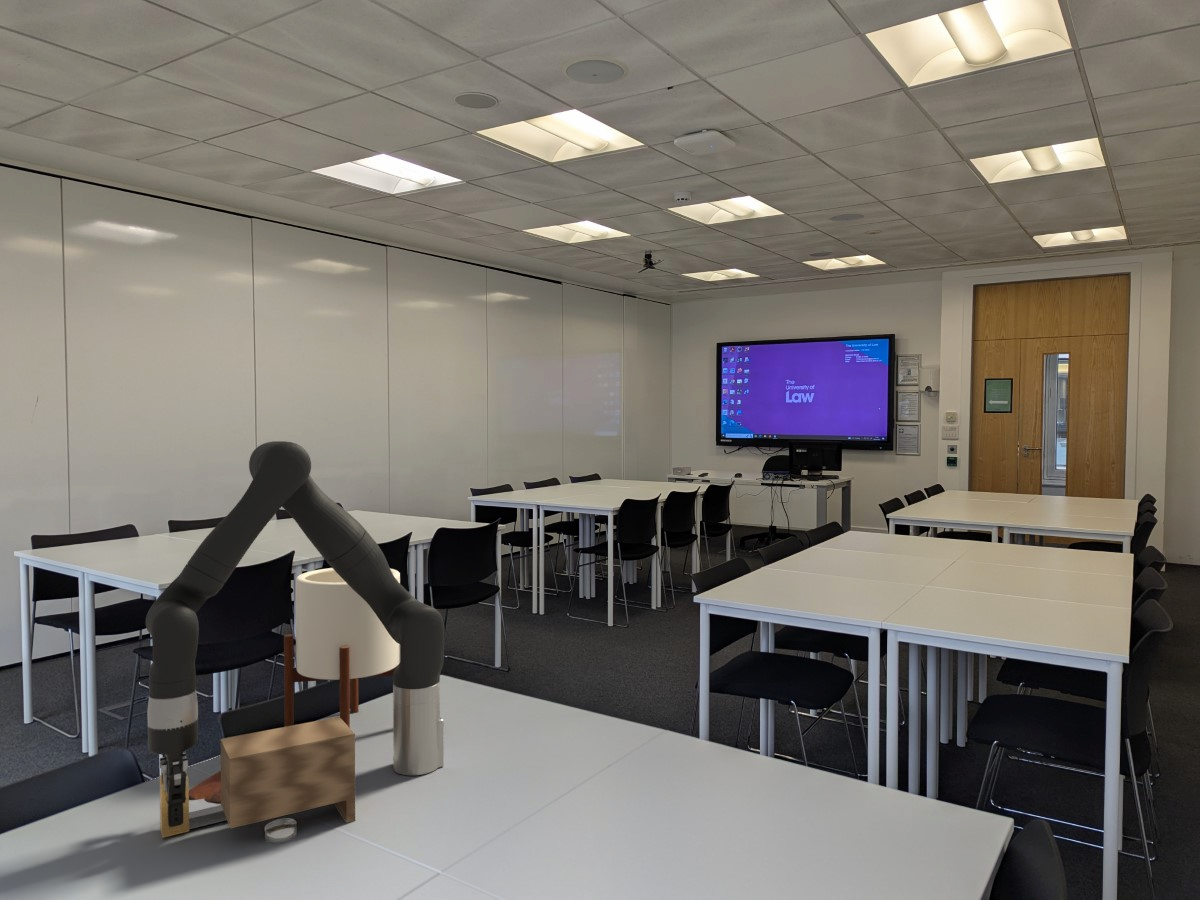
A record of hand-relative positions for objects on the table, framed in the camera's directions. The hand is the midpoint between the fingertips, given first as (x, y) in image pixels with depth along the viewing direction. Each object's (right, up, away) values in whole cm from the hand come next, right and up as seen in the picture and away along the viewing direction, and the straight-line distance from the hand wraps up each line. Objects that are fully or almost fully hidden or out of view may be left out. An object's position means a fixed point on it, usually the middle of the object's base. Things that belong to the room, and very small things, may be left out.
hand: (174, 819), depth 136 cm
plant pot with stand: (+15, -2, +46) cm, 49 cm away
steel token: (+18, -3, -1) cm, 19 cm away
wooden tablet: (+2, -3, +24) cm, 25 cm away
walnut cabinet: (+18, -2, +3) cm, 19 cm away
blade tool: (+7, -2, +5) cm, 9 cm away
